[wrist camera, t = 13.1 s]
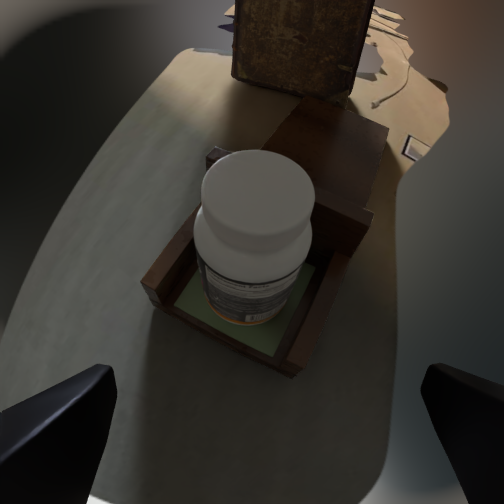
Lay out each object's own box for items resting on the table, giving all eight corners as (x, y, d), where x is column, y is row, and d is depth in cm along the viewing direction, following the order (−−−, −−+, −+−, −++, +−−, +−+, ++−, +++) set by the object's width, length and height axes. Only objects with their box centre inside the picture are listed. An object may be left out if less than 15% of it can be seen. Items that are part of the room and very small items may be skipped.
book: (225, 79, 39) (232, -88, 17) (248, 62, 42) (259, -84, 21) (342, 116, 36) (389, -67, 14) (353, 94, 39) (393, -61, 18)
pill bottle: (217, 243, 23) (213, 131, 14) (295, 262, 22) (332, 157, 14) (192, 316, 20) (164, 224, 11) (279, 338, 19) (320, 260, 11)
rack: (292, 379, 20) (323, 355, 13) (152, 305, 22) (122, 251, 15) (385, 137, 34) (406, 88, 28) (304, 104, 36) (314, 53, 30)
